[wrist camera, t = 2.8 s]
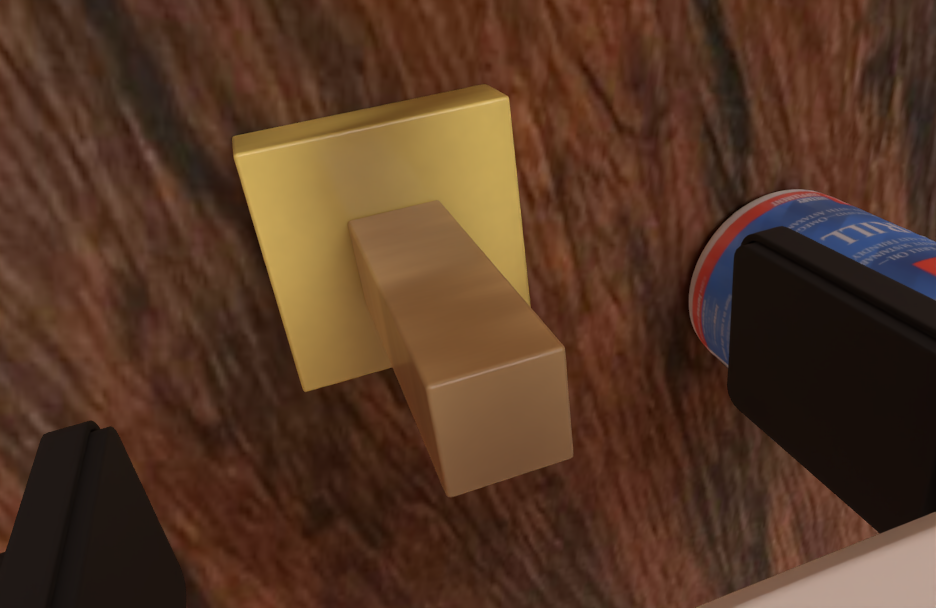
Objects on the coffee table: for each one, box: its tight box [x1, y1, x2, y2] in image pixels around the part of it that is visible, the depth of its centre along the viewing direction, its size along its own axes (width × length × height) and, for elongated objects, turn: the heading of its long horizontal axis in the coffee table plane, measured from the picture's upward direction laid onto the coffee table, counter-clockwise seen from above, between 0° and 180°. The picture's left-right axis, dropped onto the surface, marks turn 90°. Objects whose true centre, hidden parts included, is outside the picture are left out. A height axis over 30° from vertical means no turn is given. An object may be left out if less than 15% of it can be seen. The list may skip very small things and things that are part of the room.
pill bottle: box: [689, 189, 936, 368], centre depth 17 cm, size 6×5×10 cm
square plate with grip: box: [232, 84, 573, 497], centre depth 14 cm, size 6×6×8 cm
